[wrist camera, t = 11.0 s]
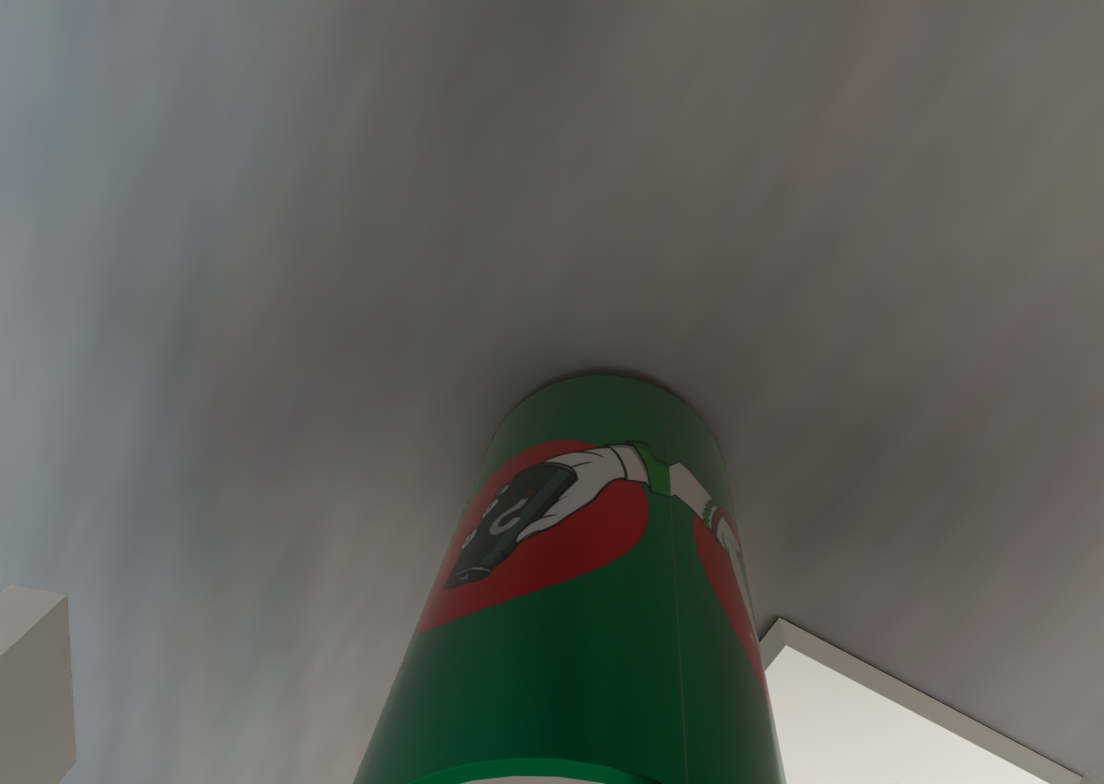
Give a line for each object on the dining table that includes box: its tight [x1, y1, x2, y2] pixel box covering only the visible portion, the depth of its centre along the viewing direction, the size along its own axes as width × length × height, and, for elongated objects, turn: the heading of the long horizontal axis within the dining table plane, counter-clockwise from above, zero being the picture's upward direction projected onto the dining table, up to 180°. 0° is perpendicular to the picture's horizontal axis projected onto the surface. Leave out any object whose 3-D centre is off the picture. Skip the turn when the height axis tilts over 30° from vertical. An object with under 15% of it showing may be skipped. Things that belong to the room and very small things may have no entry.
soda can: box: [353, 375, 787, 784], centre depth 13 cm, size 5×5×12 cm
